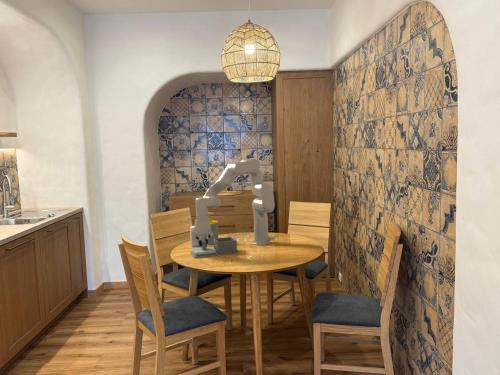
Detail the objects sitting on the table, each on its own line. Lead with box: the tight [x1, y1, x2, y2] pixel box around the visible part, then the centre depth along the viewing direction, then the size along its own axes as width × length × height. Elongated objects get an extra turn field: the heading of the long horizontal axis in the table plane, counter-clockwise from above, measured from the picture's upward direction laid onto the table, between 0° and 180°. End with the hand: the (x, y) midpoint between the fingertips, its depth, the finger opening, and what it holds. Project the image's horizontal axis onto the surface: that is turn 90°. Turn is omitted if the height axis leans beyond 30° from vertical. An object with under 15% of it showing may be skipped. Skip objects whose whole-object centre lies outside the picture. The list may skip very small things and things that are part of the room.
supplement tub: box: [189, 225, 205, 249], centre depth 281 cm, size 10×10×15 cm
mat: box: [190, 250, 218, 259], centre depth 265 cm, size 14×14×1 cm
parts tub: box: [213, 236, 238, 256], centre depth 269 cm, size 12×12×8 cm
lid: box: [191, 240, 216, 255], centre depth 264 cm, size 13×13×7 cm
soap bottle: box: [205, 212, 220, 245], centre depth 296 cm, size 13×13×21 cm
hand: (203, 245), depth 264 cm, fingers open, 3 cm apart
